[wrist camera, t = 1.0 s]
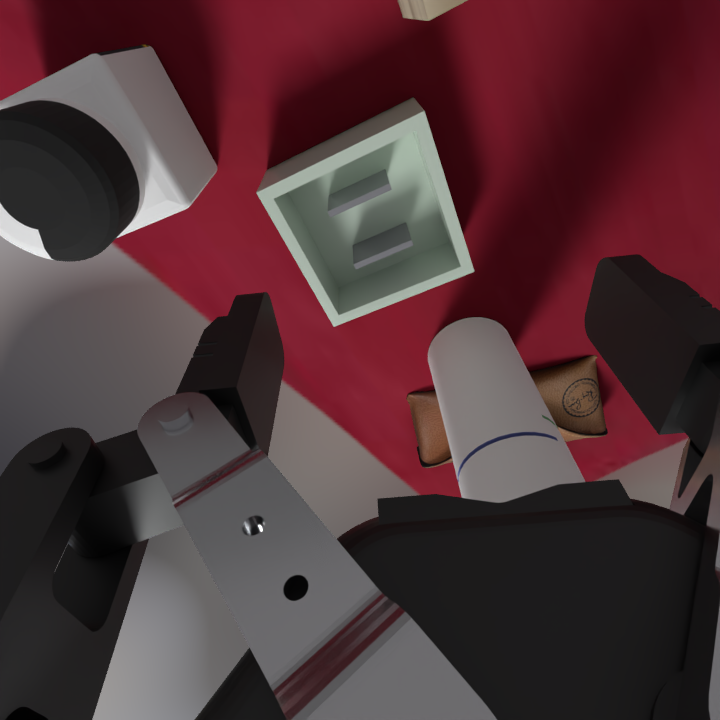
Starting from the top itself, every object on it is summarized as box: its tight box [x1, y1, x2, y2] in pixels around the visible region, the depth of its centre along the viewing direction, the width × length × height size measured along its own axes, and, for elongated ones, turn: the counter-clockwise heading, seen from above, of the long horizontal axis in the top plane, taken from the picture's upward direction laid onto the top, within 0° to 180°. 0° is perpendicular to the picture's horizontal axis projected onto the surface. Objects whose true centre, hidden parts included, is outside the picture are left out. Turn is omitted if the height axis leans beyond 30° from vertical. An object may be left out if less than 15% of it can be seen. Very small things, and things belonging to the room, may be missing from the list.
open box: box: [256, 97, 474, 326], centre depth 29 cm, size 10×10×4 cm
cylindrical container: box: [428, 317, 585, 503], centre depth 29 cm, size 7×7×25 cm
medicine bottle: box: [0, 44, 217, 261], centre depth 23 cm, size 7×7×12 cm
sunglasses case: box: [406, 355, 608, 468], centre depth 42 cm, size 18×7×7 cm, turn 105°
